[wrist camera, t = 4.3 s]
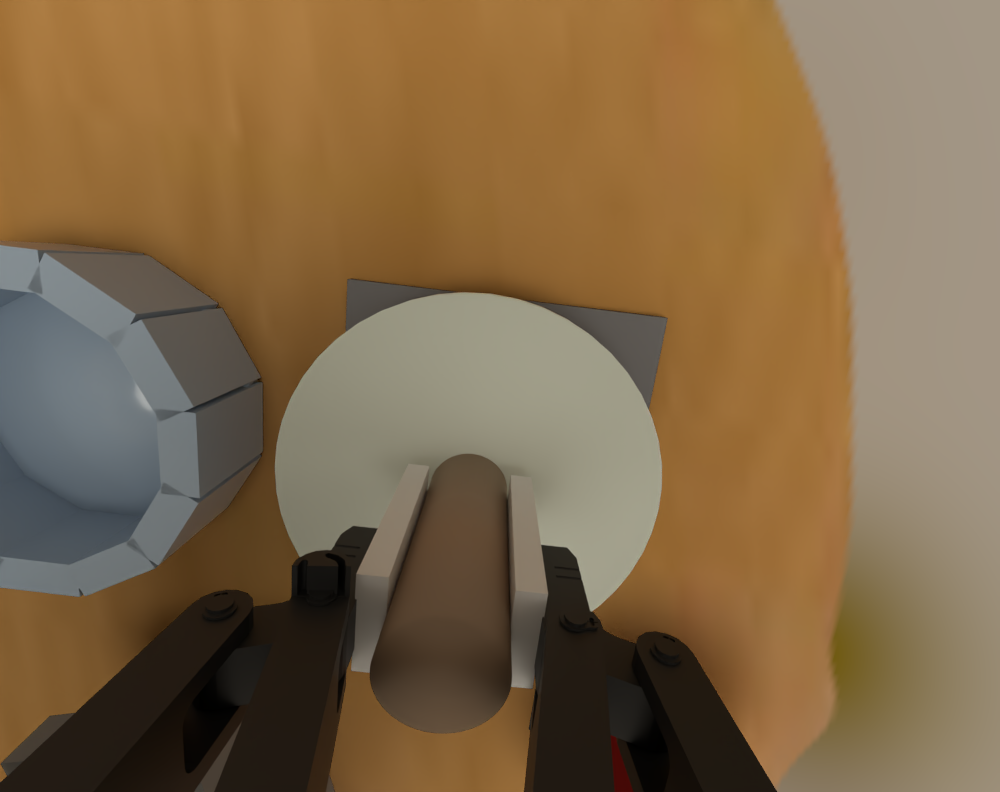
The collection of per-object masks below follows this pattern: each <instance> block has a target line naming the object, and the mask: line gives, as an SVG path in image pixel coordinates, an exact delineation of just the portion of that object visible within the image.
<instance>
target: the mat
mask: <svg viewBox="0 0 1000 792" xmlns="http://www.w3.org/2000/svg"><path fill="white" fill-rule="evenodd" d="M445 293H457V292H454V291H446V290H438V289H430V288H422V287H413V286H405V285H397V284H389V283H381V282H372V281H364V280H356V279H348V282H347V310H346V332H347V331H348V330H349V329H351V328H352V327H353V326H355V325H356V324H358V323H359V322H361V321H363V320H365V319H367V318H369V317H371V316H372V315H374V314H376V313H378V312H380V311H382V310H385V309H387V308H390V307H393V306H396V305H398V304H401V303H404V302H407V301H409V300H413V299H417V298H422V297H426V296H431V295H436V294H445ZM523 301H526V302H529V303H532V304H535V305H538V306H542V307H544V308H546V309H548V310H550V311H552V312H554V313H556V314H558V315H560V316H562V317H564V318H566V319H568V320H569V321H571V322H572V323H574V324H575V325H577V326H578V327H580V328H581V329H583V330H584V331H586V332H587V333H589V334H590V335H591V336H592V337H593V338H595V339H596V340H597V341H598V342H599V343H600V344H601V345H602V346H604V347H605V348H606V349H607V350H608V351H609V352H610V353H611V354H612V355H613V356H614V357H615V358H616V360H617V361H618V362H619V363H620V364H621V365H622V367H623V368H624V369H625V370H626V371H627V372H628V374H629V375H630V377H631V379H632V380H633V382H634V383H635V385H636V386H637V388H638V390H639V391H640V393H641V394H642V396H643V399H644V401H645V403H646V405H647V408H648V410H649V406H650V401H651V396H652V391H653V387H654V382H655V377H656V372H657V367H658V362H659V357H660V353H661V348H662V343H663V338H664V333H665V328H666V323H667V319H668V318H665V317H658V316H650V315H642V314H634V313H626V312H618V311H609V310H601V309H593V308H585V307H577V306H569V305H560V304H552V303H544V302H536V301H528V300H523Z"/></svg>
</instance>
